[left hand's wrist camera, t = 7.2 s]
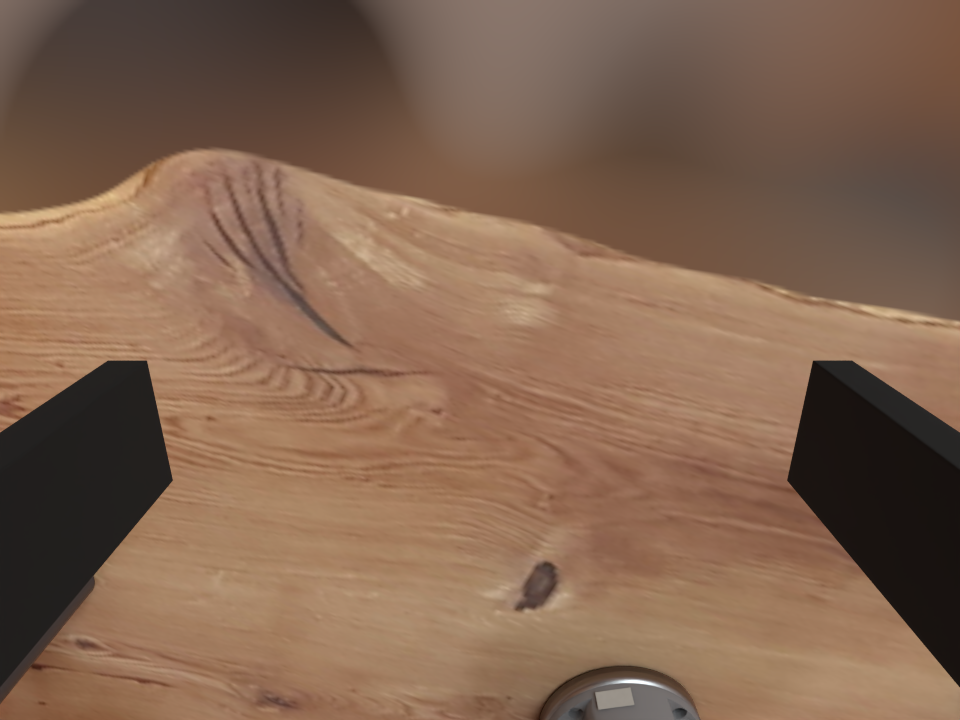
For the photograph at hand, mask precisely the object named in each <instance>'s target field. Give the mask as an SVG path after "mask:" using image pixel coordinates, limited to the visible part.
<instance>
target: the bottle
mask: <svg viewBox="0 0 960 720" xmlns="http://www.w3.org/2000/svg"><path fill="white" fill-rule="evenodd" d="M93 588H94V577H92V578H91V579H90V580H89V581H88V583H87V584H86V585H85V586H84V587H83V589H82V590H81V591H80V592H79V593H78V595H77V596H76V597H75V598H74V599H73V601H72V602H71V603H70V604H69V605H68V607H67V608H66V609H65V610H64V611H63V613H62V614H61V615H60V616H59V617H58V619H57V620H56V621H55V622H54V623H53V625H52V626H51V627H50V628H49V629H48V631H47V632H46V633H45V634H44V635H43V637H42V638H41V639H40V640H39V641H38V643H37V644H36V645H35V646H34V647H33V649H32V650H31V651H30V652H29V653H28V655H27V656H26V657H25V658H24V659H23V661H22V662H21V663H20V664H19V665H18V667H17V668H16V669H15V670H14V671H13V673H12V674H11V675H10V676H9V677H8V679H7V680H6V681H5V682H4V683H3V685H2V686H1V687H0V703H1V702H2V701H3V700H4V699H5V697H6V696H7V695H8V694H9V692H10V691H11V690H12V689H13V687H14V686H15V685H16V684H17V683H18V681H19V680H20V679H21V678H22V676H23V675H24V674H25V673H26V671H27V670H28V669H29V668H30V666H31V665H32V664H33V663H34V662H35V660H36V659H37V658H38V657H39V655H40V654H41V653H42V652H43V650H44V649H45V648H46V647H47V646H48V644H49V643H50V642H51V641H52V639H53V638H54V637H55V636H56V634H57V633H58V632H59V631H60V629H61V628H62V627H63V626H64V625H65V623H66V622H67V621H68V620H69V618H70V617H71V616H72V615H73V613H74V612H75V611H76V610H77V609H78V607H79V606H80V605H81V604H82V602H83V601H84V600H85V599H86V597H87V596H88V595H89V594H90V593H91V591H92V590H93Z"/></svg>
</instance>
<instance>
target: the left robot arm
mask: <svg viewBox="0 0 960 720" xmlns="http://www.w3.org/2000/svg"><path fill="white" fill-rule="evenodd" d="M172 481H173V479H172V475H171V470H170V465H169V461H168V456H167V452H166V447H165V442H164V438H163V433H162V428H161V424H160V419H159V414H158V410H157V405H156V401H155V396H154V391H153V387H152V382H151V377H150V373H149V368H148V364H147V361H107V362H105V363H104V364H102V365H101V366H99V367H98V368H96V369H95V370H93V371H92V372H90V373H89V374H87V375H86V376H84V377H83V378H81V379H80V380H78V381H77V382H75V383H74V384H72V385H71V386H69V387H68V388H66V389H65V390H63V391H62V392H60V393H59V394H57V395H56V396H54V397H53V398H51V399H50V400H48V401H47V402H45V403H44V404H42V405H41V406H39V407H38V408H36V409H35V410H33V411H32V412H30V413H29V414H27V415H26V416H24V417H23V418H21V419H20V420H18V421H17V422H15V423H14V424H12V425H11V426H9V427H8V428H6V429H5V430H3V431H2V432H0V687H1V686H2V685H3V683H4V682H5V681H6V680H7V679H8V677H9V676H10V675H11V674H12V673H13V671H14V670H15V669H16V668H17V667H18V665H19V664H20V663H21V662H22V661H23V659H24V658H25V657H26V656H27V655H28V653H29V652H30V651H31V650H32V649H33V647H34V646H35V645H36V644H37V643H38V641H39V640H40V639H41V638H42V637H43V635H44V634H45V633H46V632H47V631H48V629H49V628H50V627H51V626H52V625H53V623H54V622H55V621H56V620H57V619H58V617H59V616H60V615H61V614H62V613H63V611H64V610H65V609H66V608H67V607H68V605H69V604H70V603H71V602H72V601H73V599H74V598H75V597H76V596H77V595H78V593H79V592H80V591H81V590H82V589H83V587H84V586H85V585H86V584H87V583H88V581H89V580H90V579H91V578H92V577H93V575H94V574H95V573H96V572H97V571H98V569H99V568H100V567H101V566H102V565H103V563H104V562H105V561H106V560H107V559H108V557H109V556H110V555H111V554H112V553H113V551H114V550H115V549H116V548H117V547H118V545H119V544H120V543H121V542H122V541H123V539H124V538H125V537H126V536H127V535H128V533H129V532H130V531H131V530H132V529H133V527H134V526H135V525H136V524H137V523H138V522H139V520H140V519H141V518H142V517H143V516H144V514H145V513H146V512H147V511H148V510H149V508H150V507H151V506H152V505H153V504H154V502H155V501H156V500H157V499H158V498H159V496H160V495H161V494H162V493H163V492H164V490H165V489H166V488H167V487H168V486H169V484H170V483H171V482H172ZM787 481H788V482H789V483H790V484H791V486H792V487H793V488H794V489H795V490H796V492H797V493H798V494H799V495H800V496H801V498H802V499H803V500H804V501H805V502H806V504H807V505H808V506H809V507H810V508H811V510H812V511H813V512H814V513H815V514H816V516H817V517H818V518H819V519H820V520H821V522H822V523H823V524H824V525H825V526H826V527H827V529H828V530H829V531H830V532H831V533H832V535H833V536H834V537H835V538H836V539H837V541H838V542H839V543H840V544H841V545H842V547H843V548H844V549H845V550H846V551H847V553H848V554H849V555H850V556H851V557H852V559H853V560H854V561H855V562H856V563H857V565H858V566H859V567H860V568H861V569H862V571H863V572H864V573H865V574H866V575H867V577H868V578H869V579H870V580H871V581H872V583H873V584H874V585H875V586H876V587H877V589H878V590H879V591H880V592H881V593H882V595H883V596H884V597H885V598H886V599H887V601H888V602H889V603H890V604H891V605H892V607H893V608H894V609H895V610H896V611H897V613H898V614H899V615H900V616H901V617H902V619H903V620H904V621H905V622H906V623H907V625H908V626H909V627H910V628H911V629H912V631H913V632H914V633H915V634H916V635H917V637H918V638H919V639H920V640H921V641H922V643H923V644H924V645H925V646H926V647H927V649H928V650H929V651H930V652H931V653H932V655H933V656H934V657H935V658H936V659H937V661H938V662H939V663H940V664H941V665H942V667H943V668H944V669H945V670H946V671H947V673H948V674H949V675H950V676H951V677H952V679H953V680H954V681H955V682H956V683H957V685H958V686H959V687H960V432H958V431H957V430H955V429H954V428H952V427H951V426H949V425H948V424H946V423H945V422H943V421H942V420H940V419H939V418H937V417H936V416H934V415H933V414H931V413H930V412H928V411H927V410H925V409H924V408H922V407H921V406H919V405H918V404H916V403H915V402H913V401H912V400H910V399H909V398H907V397H906V396H904V395H903V394H901V393H900V392H898V391H897V390H895V389H894V388H892V387H891V386H889V385H888V384H886V383H885V382H883V381H882V380H880V379H879V378H877V377H876V376H874V375H873V374H871V373H870V372H868V371H867V370H865V369H864V368H862V367H861V366H859V365H858V364H856V363H855V362H853V361H813V364H812V368H811V373H810V377H809V382H808V387H807V391H806V396H805V401H804V405H803V410H802V414H801V419H800V424H799V428H798V433H797V438H796V442H795V447H794V452H793V456H792V461H791V465H790V470H789V475H788V479H787ZM539 720H700V718H699V715H698V712H697V709H696V707H695V704H694V702H693V700H692V698H691V696H690V694H689V693H688V692H687V691H686V689H685V688H684V687H683V686H682V685H680V684H679V683H678V682H677V681H675V680H674V679H672V678H670V677H669V676H667V675H664V674H662V673H660V672H657V671H654V670H650V669H646V668H641V667H631V666H618V667H608V668H602V669H598V670H594V671H591V672H588V673H585V674H582V675H580V676H578V677H576V678H574V679H572V680H570V681H569V682H567V683H565V684H564V685H563V686H561V687H560V688H559V689H558V690H557V691H556V692H555V693H554V694H553V695H552V696H551V697H550V698H549V699H548V701H547V702H546V704H545V706H544V708H543V710H542V712H541V715H540V719H539Z"/></svg>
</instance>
